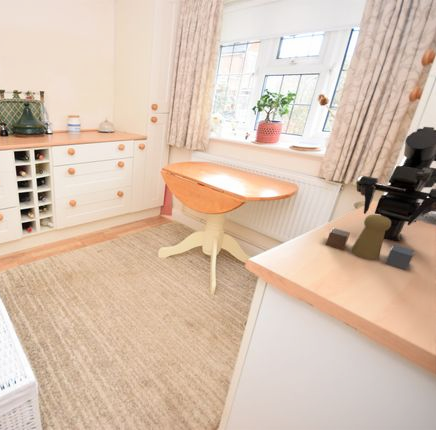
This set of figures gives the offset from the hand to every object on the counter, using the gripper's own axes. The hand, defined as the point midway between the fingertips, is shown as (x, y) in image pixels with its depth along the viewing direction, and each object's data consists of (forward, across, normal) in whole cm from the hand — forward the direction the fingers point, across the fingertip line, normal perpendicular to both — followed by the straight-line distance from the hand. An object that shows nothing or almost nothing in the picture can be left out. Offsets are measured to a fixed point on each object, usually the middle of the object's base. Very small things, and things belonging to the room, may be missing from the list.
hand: (385, 218), depth 78 cm
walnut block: (+12, -7, 0) cm, 13 cm away
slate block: (+11, +6, +1) cm, 12 cm away
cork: (+11, 0, +1) cm, 11 cm away
